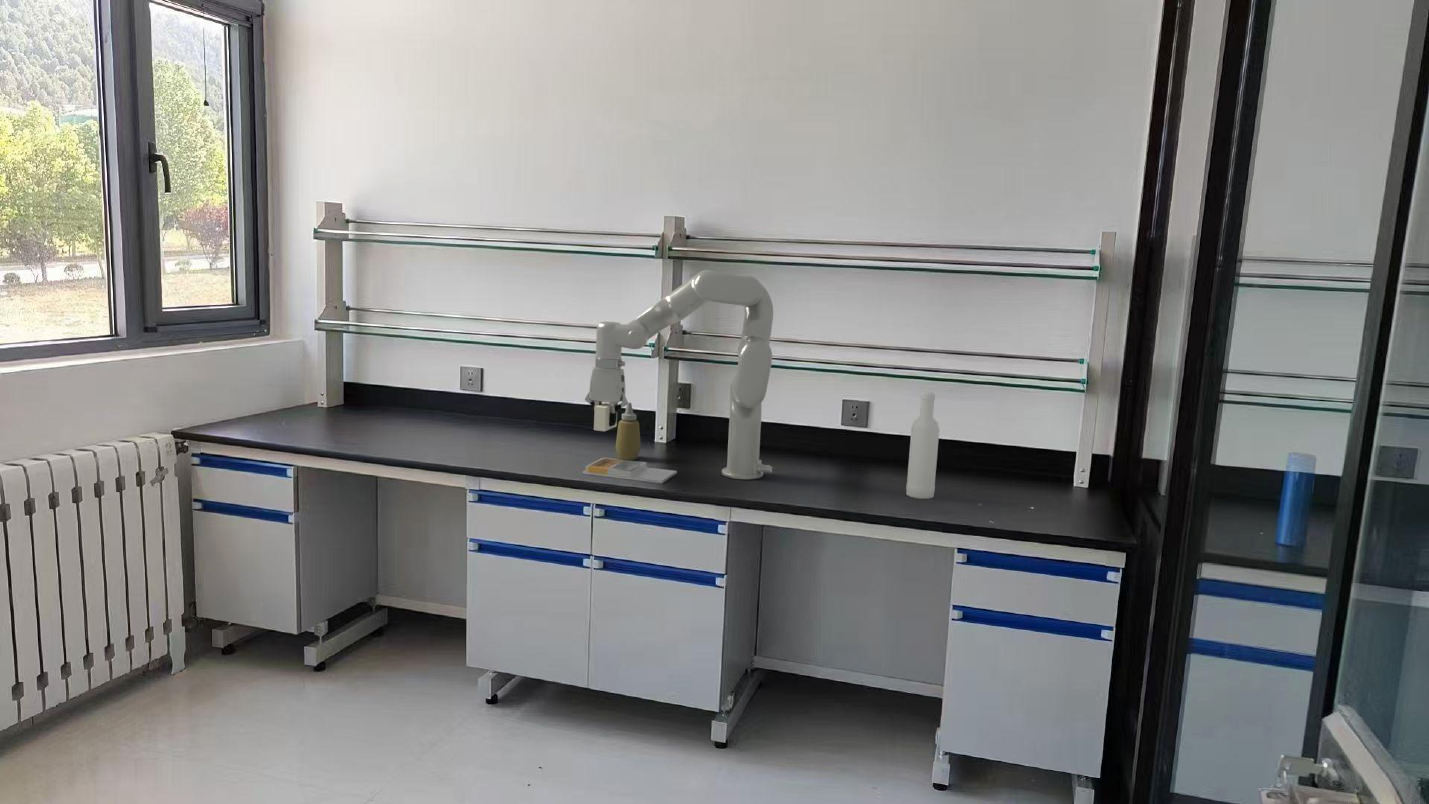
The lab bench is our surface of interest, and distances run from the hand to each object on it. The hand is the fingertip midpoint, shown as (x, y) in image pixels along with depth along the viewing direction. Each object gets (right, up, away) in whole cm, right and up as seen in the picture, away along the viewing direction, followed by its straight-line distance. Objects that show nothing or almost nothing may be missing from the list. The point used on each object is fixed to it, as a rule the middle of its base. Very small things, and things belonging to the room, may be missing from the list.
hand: (605, 424), depth 285 cm
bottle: (+92, -20, -10) cm, 94 cm away
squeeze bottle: (+5, -12, +20) cm, 23 cm away
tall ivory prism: (0, -1, 0) cm, 1 cm away
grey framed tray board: (+7, -15, 0) cm, 16 cm away
